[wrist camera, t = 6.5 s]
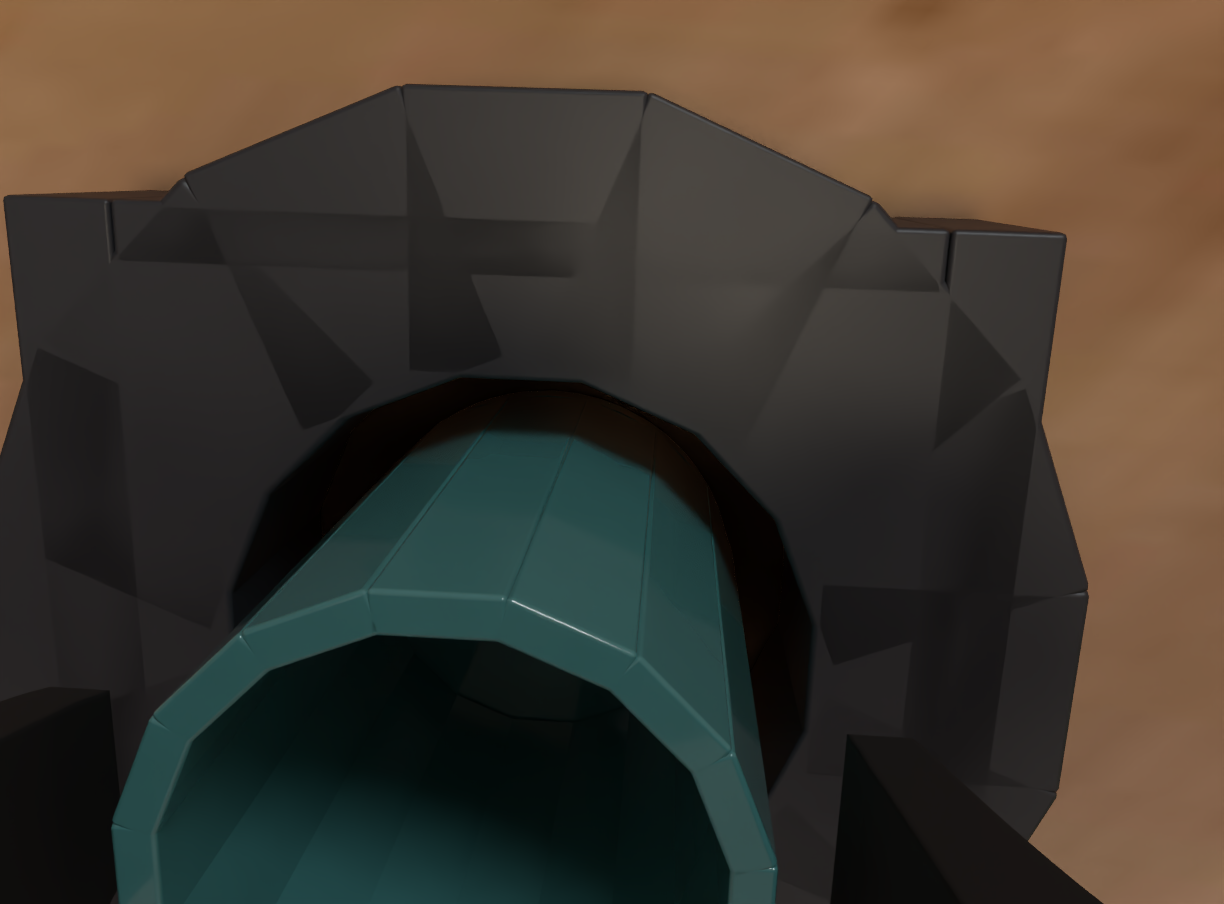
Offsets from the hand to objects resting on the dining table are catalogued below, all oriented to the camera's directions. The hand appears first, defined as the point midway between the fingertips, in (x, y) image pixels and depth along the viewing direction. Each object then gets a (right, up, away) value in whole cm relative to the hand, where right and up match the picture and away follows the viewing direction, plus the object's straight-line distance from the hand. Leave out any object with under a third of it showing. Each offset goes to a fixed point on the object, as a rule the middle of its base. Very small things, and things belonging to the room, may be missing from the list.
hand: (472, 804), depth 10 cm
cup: (0, +2, +6) cm, 7 cm away
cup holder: (0, +2, +6) cm, 7 cm away
